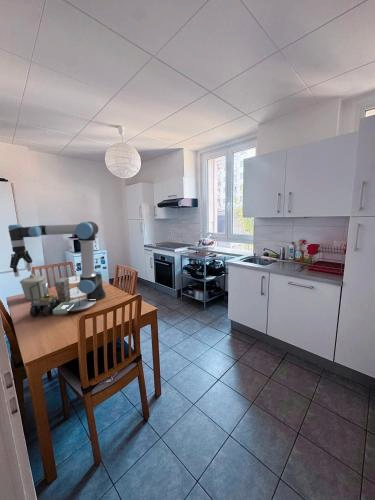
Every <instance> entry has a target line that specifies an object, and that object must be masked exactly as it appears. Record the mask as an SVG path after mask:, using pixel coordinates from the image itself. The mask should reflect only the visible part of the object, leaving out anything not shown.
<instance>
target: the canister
mask: <svg viewBox="0 0 375 500" xmlns="http://www.w3.org/2000/svg"><path fill="white" fill-rule="evenodd" d="M45 279H46V276H43V275H35V274H30V275H29V276H28V277H25V278H23V279H21V280H20V281H19V284H20V285H21V288H22V291H23V295H24V297H25V299H26V300H28V301H31V299H30V293H29V287H30V286H32V285H34V284H36V283H39V286H40V292H41V298H42V297H43V296H44V293H43V287H42V284H44V283H46V280H45ZM31 290H32V296H33V301H36V300H37V299H39V294H38V288H37V285H36V286H34V287H32V288H31Z"/></svg>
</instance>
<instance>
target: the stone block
mask: <svg viewBox="0 0 375 500" xmlns="http://www.w3.org/2000/svg"><path fill="white" fill-rule="evenodd" d="M54 287H55V290H56V294H57V299H58V300H59V305H60V304H61V303H63V302H71V291H70V279H69V277H60V278H58V280H56V281H55V284H54Z"/></svg>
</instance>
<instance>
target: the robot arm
mask: <svg viewBox="0 0 375 500" xmlns="http://www.w3.org/2000/svg"><path fill="white" fill-rule="evenodd" d="M7 228H8V233H9V237H10V243H11V246H12V247H11V248H12V252H13V253H12V254H11V255H10V256H11V257H10V263H9V268H10V269H12V270H13V275H14V277H16V278H18V277H20V271H19V267H18V265H19V263H20V260H21V259H23V261H24V262H26V268H27V272H33V269H32V263H33V261H34V260H33V258H32V257H31V256H30V254H29V251H28V250H26V246H25V238H38V237H40V236H53V235H54V236H55V235H76V236H77V240H78V242H79V243H80V254H81V255H80V257H81V258H80V261H81V274H80V275H79V282H78V284H77V287H78V290H79V292H81V293H82V294H86V300H87V299H96V301H99V300H103V299H105V298H106V296H107V294H106V291H105V289H104V286H103V277H102V276H103V274H102V271H100V270H95V259H94V258H95V254H94V242H95V241H96V235H97V234H98V232H99V225H97V223H96V222H93V221H83V222H80V223H78V224H73V223H72V224H53V225H52V224H51V225H50V224H49V225H48V224H47V225H46V224H45V225H44V224H42V225H34V226H25V227H24V226H22V224H9V225H8V227H7Z"/></svg>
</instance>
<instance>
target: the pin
mask: <svg viewBox="0 0 375 500" xmlns="http://www.w3.org/2000/svg"><path fill="white" fill-rule="evenodd" d="M42 287H43V293H44V298H49V295H50V293H49V288H48V283H47V282H45V283H44V284H42Z"/></svg>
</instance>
